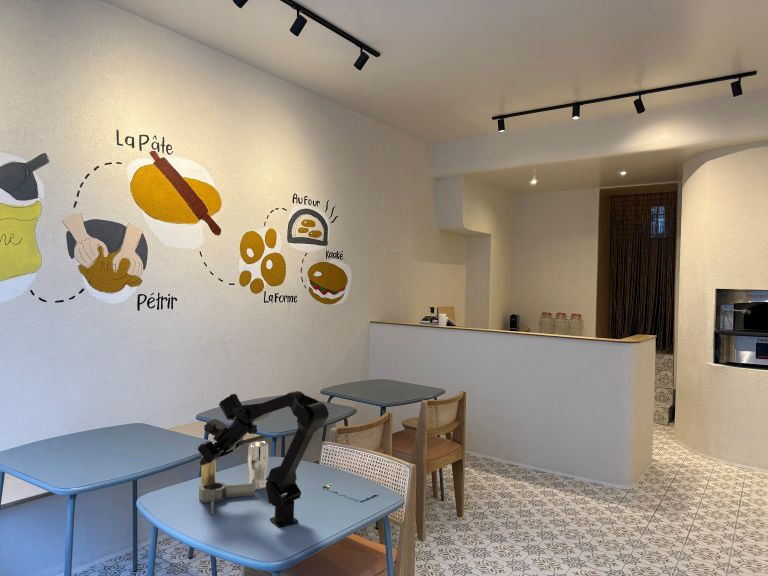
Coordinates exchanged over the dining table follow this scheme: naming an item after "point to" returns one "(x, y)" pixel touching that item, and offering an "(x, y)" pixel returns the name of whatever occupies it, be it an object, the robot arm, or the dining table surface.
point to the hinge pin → (208, 473)
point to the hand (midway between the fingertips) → (205, 461)
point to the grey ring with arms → (224, 492)
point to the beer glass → (258, 463)
